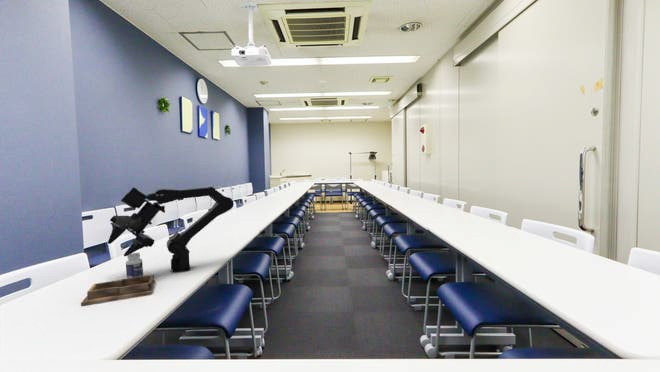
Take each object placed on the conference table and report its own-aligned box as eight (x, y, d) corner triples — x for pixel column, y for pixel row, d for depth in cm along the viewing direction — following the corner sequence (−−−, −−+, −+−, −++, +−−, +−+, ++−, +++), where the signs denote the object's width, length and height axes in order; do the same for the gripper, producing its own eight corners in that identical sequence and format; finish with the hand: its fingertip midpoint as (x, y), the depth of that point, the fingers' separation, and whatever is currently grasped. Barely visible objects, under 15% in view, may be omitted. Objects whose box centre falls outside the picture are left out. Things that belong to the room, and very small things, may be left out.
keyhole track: (155, 282, 113) (154, 273, 113) (151, 294, 102) (151, 284, 102) (92, 292, 105) (91, 282, 105) (81, 306, 94) (80, 295, 94)
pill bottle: (135, 282, 114) (133, 256, 113) (123, 281, 115) (121, 256, 115) (146, 276, 119) (145, 252, 119) (135, 276, 120) (133, 252, 120)
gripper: (114, 197, 115) (83, 232, 110) (148, 221, 110) (117, 258, 105) (134, 207, 125) (106, 239, 121) (166, 229, 120) (138, 263, 115)
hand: (116, 249), depth 115 cm, fingers open, 9 cm apart
